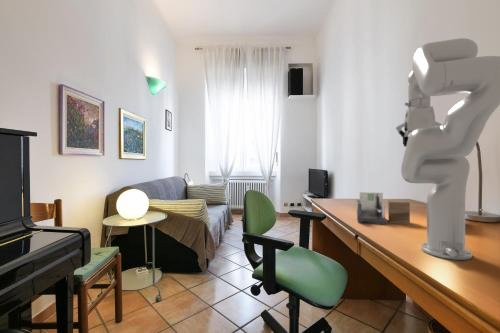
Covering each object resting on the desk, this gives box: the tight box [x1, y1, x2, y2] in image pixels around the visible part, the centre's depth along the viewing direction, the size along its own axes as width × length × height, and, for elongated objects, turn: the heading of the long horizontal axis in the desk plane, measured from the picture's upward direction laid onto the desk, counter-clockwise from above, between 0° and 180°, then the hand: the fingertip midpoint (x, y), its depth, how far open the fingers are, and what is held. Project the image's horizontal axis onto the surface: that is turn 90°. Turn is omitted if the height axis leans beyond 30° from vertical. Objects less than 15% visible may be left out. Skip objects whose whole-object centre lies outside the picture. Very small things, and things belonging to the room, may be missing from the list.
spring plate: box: [377, 203, 386, 218], centre depth 119 cm, size 8×3×6 cm, turn 159°
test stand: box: [356, 191, 387, 225], centre depth 120 cm, size 12×12×13 cm
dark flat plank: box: [377, 196, 379, 217], centre depth 122 cm, size 2×1×10 cm, turn 159°
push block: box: [387, 199, 411, 225], centre depth 116 cm, size 4×8×10 cm, turn 69°
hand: (419, 146), depth 102 cm, fingers open, 9 cm apart
